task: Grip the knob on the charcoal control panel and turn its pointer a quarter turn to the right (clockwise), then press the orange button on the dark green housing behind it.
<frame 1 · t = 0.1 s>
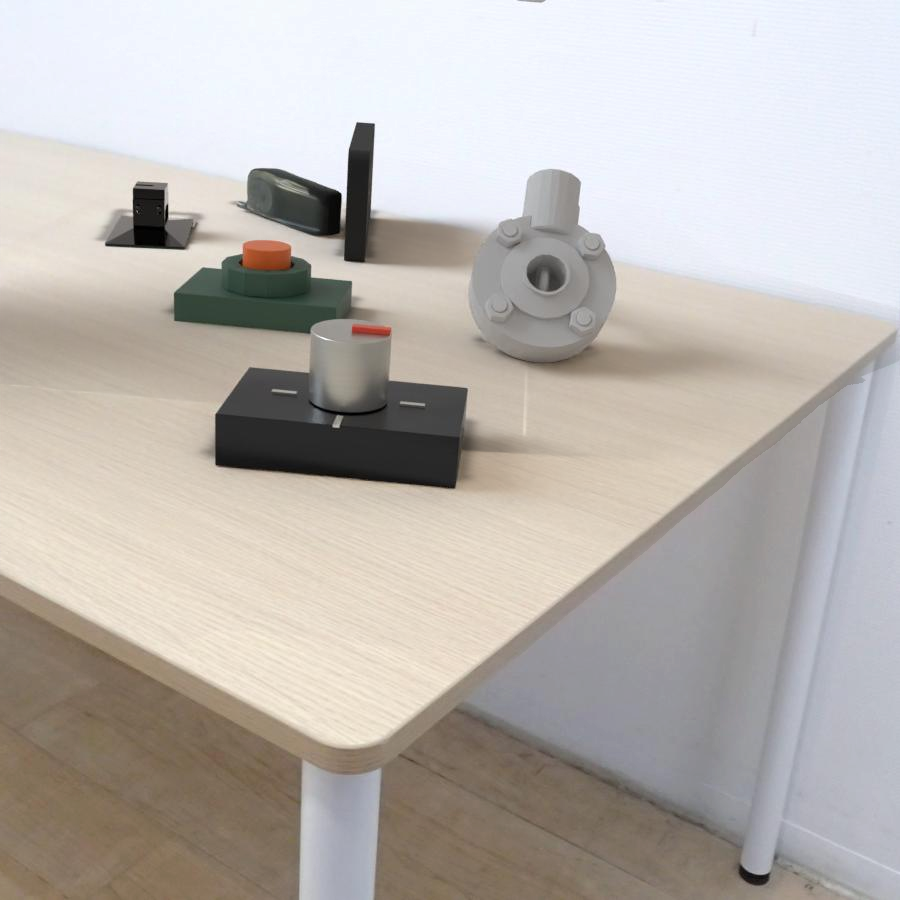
mechanical valve: (525, 329, 92), on the table
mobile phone: (286, 225, 121), on the table
build plate: (151, 235, 112), on the table
button box: (265, 314, 90), on the table
dial panel: (345, 449, 67), on the table
knob: (349, 362, 65), point 5 cm above the table, hinge at 0.0°
nameplate: (358, 240, 117), on the table
button: (266, 256, 88), point 4 cm above the table, slide at 0.1 cm
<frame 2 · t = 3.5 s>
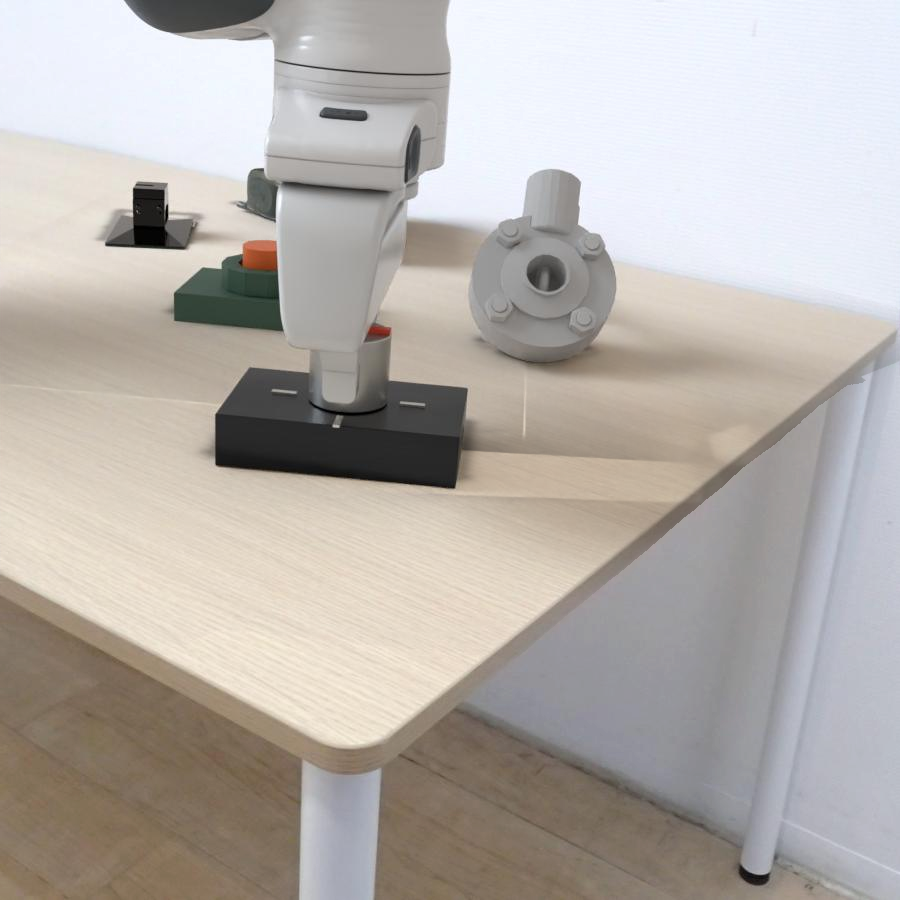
hand: (348, 381, 65), 4 cm above the table, tool pointing down, fingers closed on knob, 4 cm apart
knob: (349, 362, 65), point 5 cm above the table, hinge at 0.0°, touching gripper
everything else where it was.
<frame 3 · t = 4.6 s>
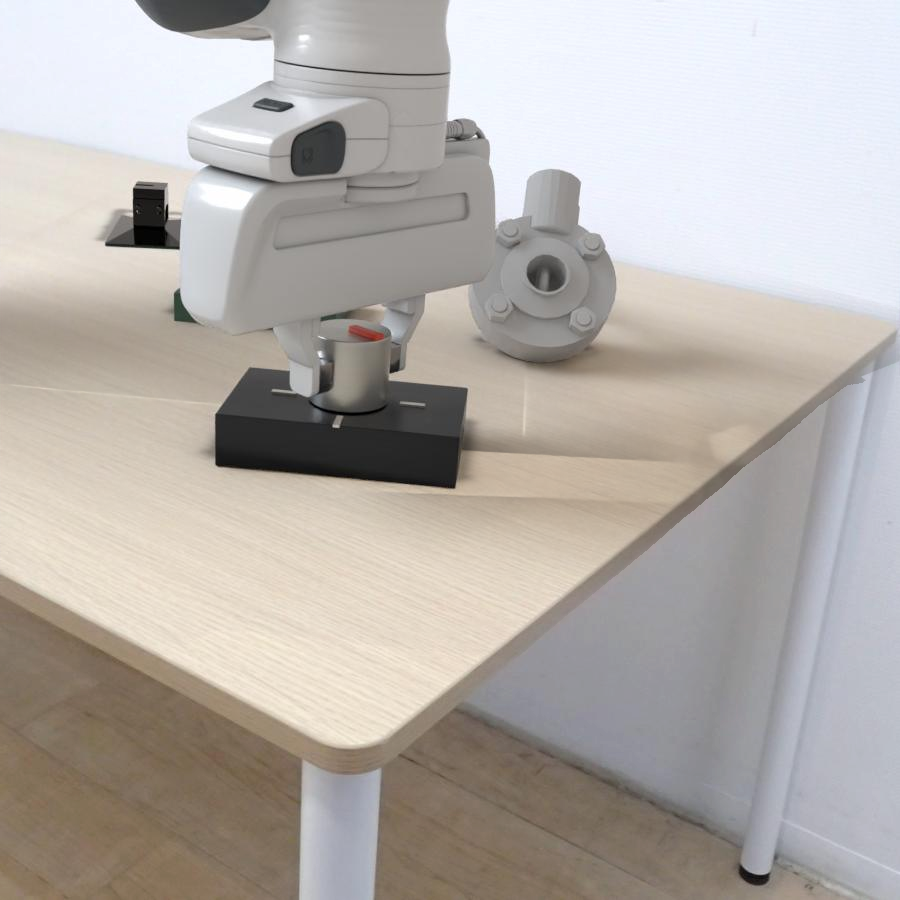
hand: (348, 381, 65), 4 cm above the table, tool pointing down, fingers closed on knob, 4 cm apart
knob: (349, 362, 65), point 5 cm above the table, hinge at -37.1°, touching gripper
everything else where it was.
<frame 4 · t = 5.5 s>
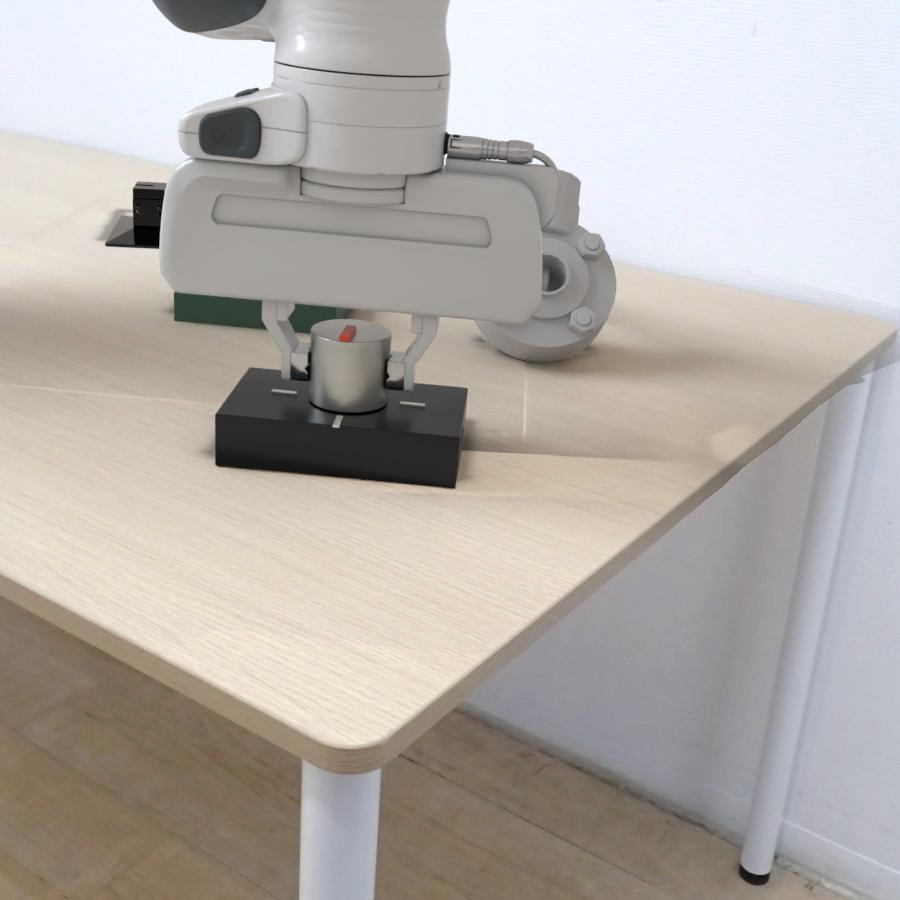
hand: (348, 382, 65), 4 cm above the table, tool pointing down, fingers closed on knob, 4 cm apart
knob: (349, 362, 65), point 5 cm above the table, hinge at -92.1°, touching gripper
everything else where it was.
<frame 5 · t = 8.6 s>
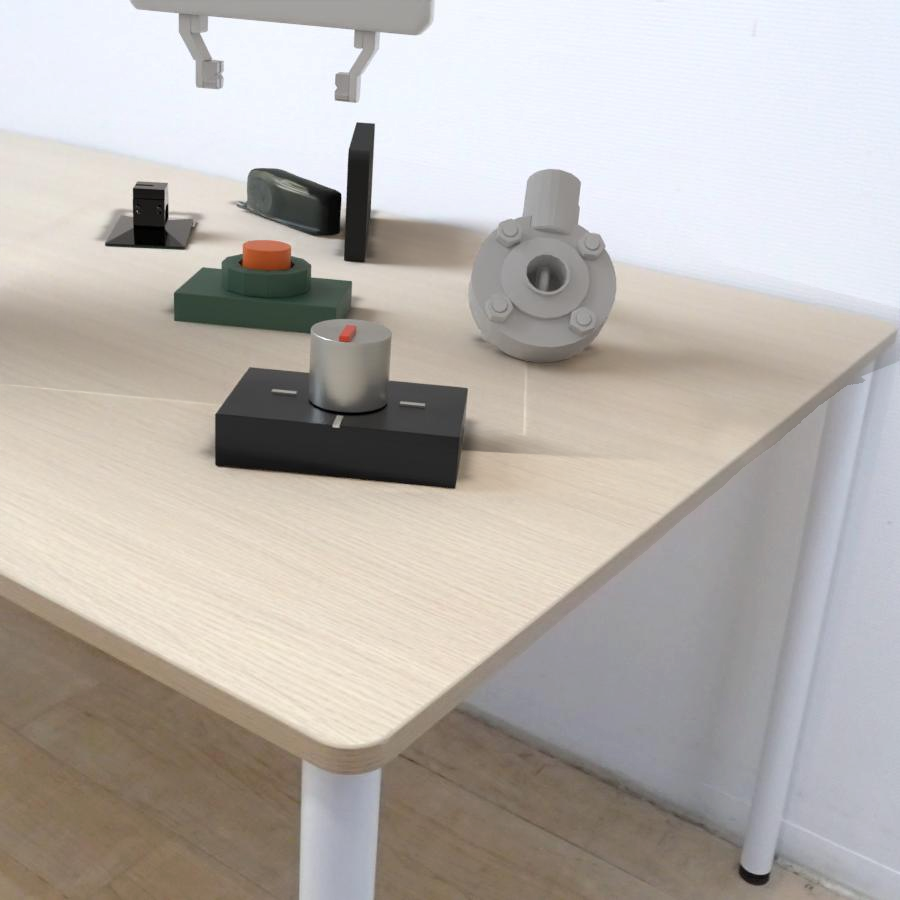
hand: (278, 94, 79), 17 cm above the table, tool pointing down, fingers open, 8 cm apart
knob: (349, 362, 65), point 5 cm above the table, hinge at -92.2°
everything else where it was.
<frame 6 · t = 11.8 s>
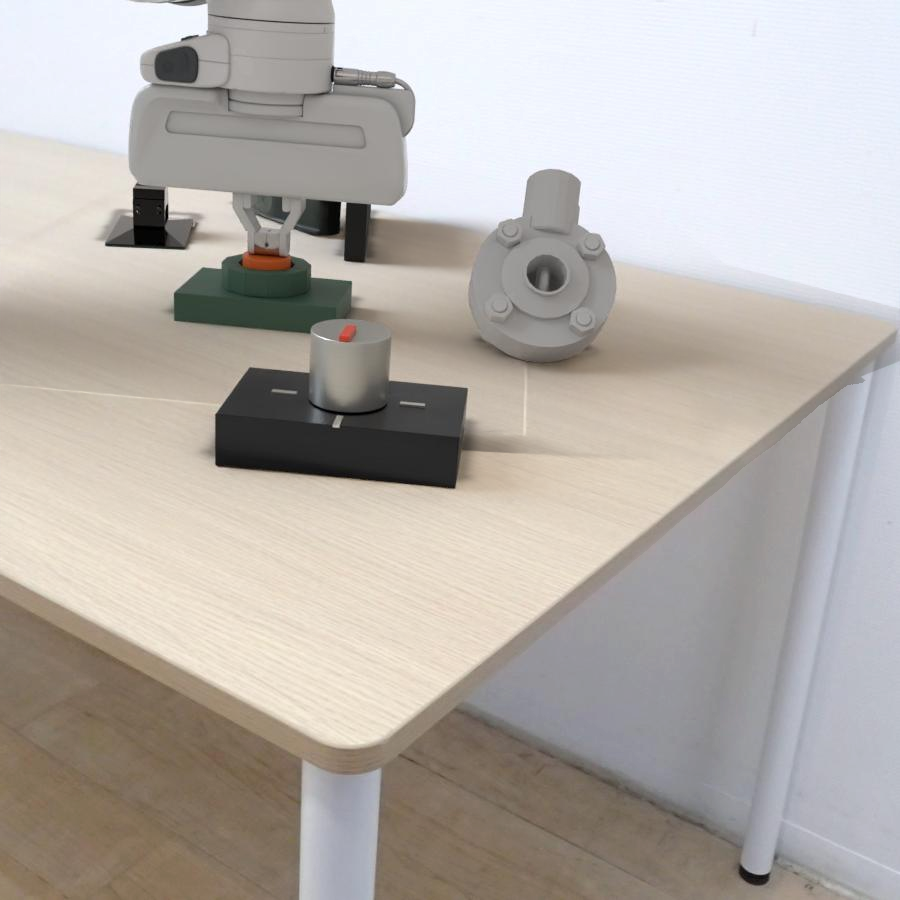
hand: (268, 254, 88), 5 cm above the table, tool pointing down, fingers closed, pressing on button
button: (266, 266, 89), point 4 cm above the table, slide at -0.6 cm, touching gripper
everything else where it was.
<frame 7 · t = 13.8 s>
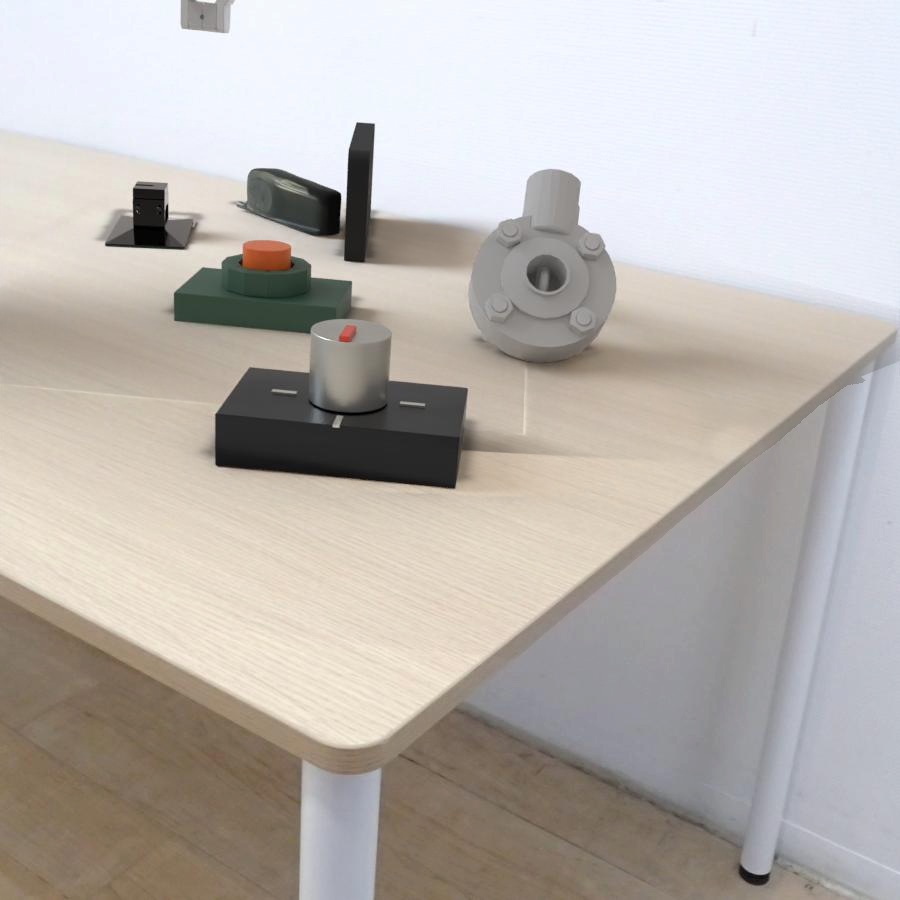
hand: (205, 31, 78), 20 cm above the table, tool pointing down, fingers closed
button: (266, 256, 88), point 4 cm above the table, slide at 0.1 cm
everything else where it was.
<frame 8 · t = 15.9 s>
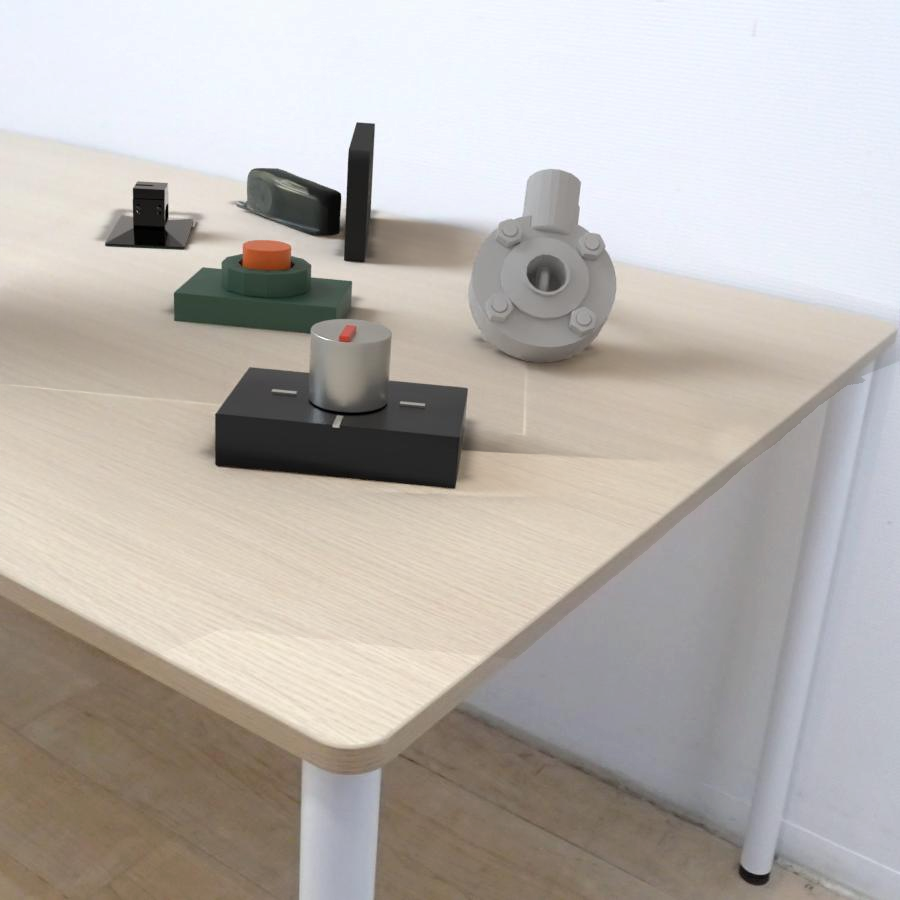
nothing on the table moved.
at the end: knob at -92° (first picture: +0°); button pushed in 1.1 cm at the most during the clip, back to where it started at the end; button slide at 0.1 cm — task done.
